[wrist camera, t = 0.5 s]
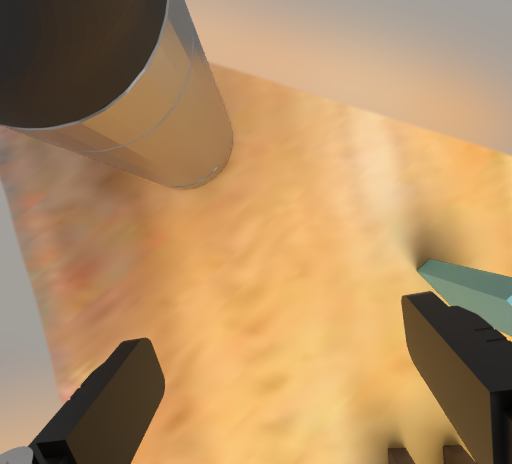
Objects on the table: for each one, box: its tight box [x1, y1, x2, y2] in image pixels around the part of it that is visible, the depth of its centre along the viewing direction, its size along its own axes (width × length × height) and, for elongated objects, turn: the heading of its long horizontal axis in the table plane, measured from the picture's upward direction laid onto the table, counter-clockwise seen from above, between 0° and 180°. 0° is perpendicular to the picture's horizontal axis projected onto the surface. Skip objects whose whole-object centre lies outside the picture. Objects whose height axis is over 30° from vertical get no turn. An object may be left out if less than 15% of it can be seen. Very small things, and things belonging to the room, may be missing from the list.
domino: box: [417, 259, 512, 336], centre depth 21 cm, size 2×5×10 cm, turn 45°
